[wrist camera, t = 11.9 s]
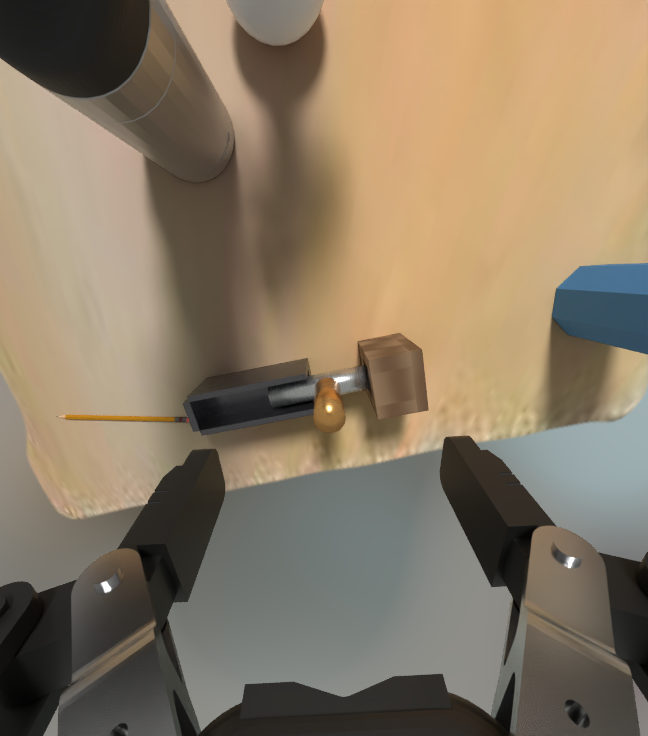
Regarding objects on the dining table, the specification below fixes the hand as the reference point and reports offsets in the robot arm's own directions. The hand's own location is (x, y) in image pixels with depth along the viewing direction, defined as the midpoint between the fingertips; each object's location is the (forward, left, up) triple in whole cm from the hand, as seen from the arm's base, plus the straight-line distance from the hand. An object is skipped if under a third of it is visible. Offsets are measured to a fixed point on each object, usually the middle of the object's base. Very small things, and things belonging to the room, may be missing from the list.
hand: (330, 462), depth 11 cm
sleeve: (-3, -12, -30) cm, 32 cm away
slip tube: (+5, -5, -27) cm, 28 cm away
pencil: (-16, -27, -30) cm, 43 cm away
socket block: (+10, 0, -30) cm, 31 cm away
